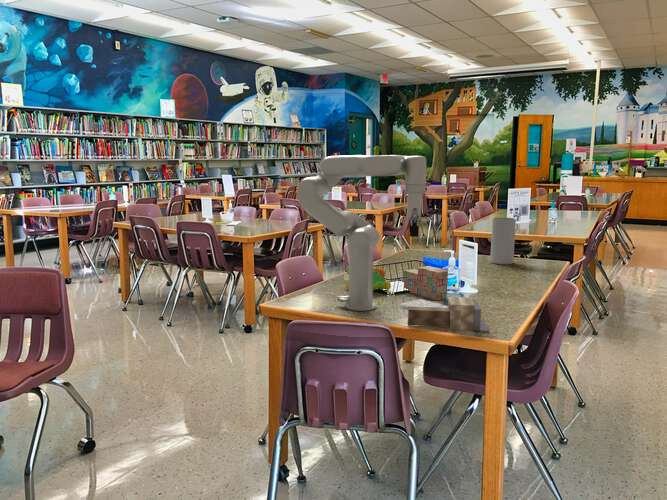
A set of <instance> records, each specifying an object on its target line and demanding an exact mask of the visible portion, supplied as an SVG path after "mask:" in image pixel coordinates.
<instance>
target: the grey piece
mask: <svg viewBox="0 0 667 500" xmlns="http://www.w3.org/2000/svg"><path fill="white" fill-rule="evenodd" d="M471 299H472V301H473V303H474V305H475V310H474V330H472V332H474V333H489V332H490V330H489V328H488V327H487V324H486V322H485V320H484V319H482V318H481V317H482V309H481V306H480V305H479V302H478V301H477V299H473V298H471Z"/></svg>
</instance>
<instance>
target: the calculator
mask: <svg viewBox="0 0 667 500" xmlns="http://www.w3.org/2000/svg"><path fill="white" fill-rule="evenodd" d="M408 306H411V307H438V308H448V305H445V304H443V303H438V302H435V301H434V302H433V301H429V300H426V299H423V298H422V299H421V298H419V299H416V300H415V299H414V300H411V301H407V302H402V303H400V304H399V307H400V308H402V309H406V310H408Z"/></svg>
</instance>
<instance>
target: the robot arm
mask: <svg viewBox="0 0 667 500" xmlns="http://www.w3.org/2000/svg"><path fill="white" fill-rule="evenodd" d="M400 175H404V176H405V179H404V183H405V184H404V193H405V194H407V197H406V198H407V199H406V200H407V201H406V220H407V221H409V224H408V225H409V226H408V227H409V230H408V231H409V237H413V238H418V237H420V235H419V234H420V233H419V232H420V231H419V230H420V228H419V227H420V226H419V221H420V220H421V215H422V213H421V212H422V199H423V194H426V183H427V182H426V180H427V179H426V178H427V158H426V156H423V155H400V154H389V155H388V154H386V155H364V154H353V155H330V156H326V157H324V158H323V159H322V160H321V163H320V171H319V173H318V174H317V175H315V176H309V177H308V176H307V177H305V178H303V179H302V180H301V181H299V183H298V184H297V188H296V191H297V192H296V197H297V201H298V203H299V205H300V206H301V208H302V209H303V210H304V212H306V213H307V214H309V215H310V216H311V217H312V218H314V219H315V220H317V222H318V223H320V224H321V225H322V226H323V227H325V228H326V229H327V230H328V231H330V232H332V233H333V234H334V235H335V236H340V237H341V236H342V237H343V236H345V235H347V237H348V239H347V250H348V266H349V275H348V281H349V290H348V295H345V296H342V295H341V296H340V295H337V301H338V302H340V303H344V308H346V309H348V310H349V311H356V312H366V311H367V312H368V311H372V310H375V309H376V308H377V304H376V303H375V302H373V299H374V298H373V297H374V295H373V294H374V293H373V292H374V290H373V265H374V256H373V249H374V248H375V247H377V245H378V244H379V243H380V238H381V237H380V233H379V231H378V229H377V228H376V227H375V226H373V225H372V224H370V222H368V221H367V220H365V219H364V218H363V217H361V216H360V215H358V214H357V213H355V212H354V211H351V210H348V209H347V210H340V209H338V208H337V207H335V206H334V205H333V204H332V203H330V201H329V202H328V201H327V200H325V199H324V198H322V197H325V196H326V195H327V194H328V193H329V192H331V190H332V189H333V188H334V187H336V185H337V184H338V183H339V182H340V181H341V180H342V179H343V178H349V179H350V178H366V177H392V176H400Z"/></svg>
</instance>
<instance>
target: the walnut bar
mask: <svg viewBox="0 0 667 500" xmlns="http://www.w3.org/2000/svg"><path fill="white" fill-rule="evenodd" d="M407 325H408V326H410V325H419V326H418V327H435V326H436V327H441V328H450V308H438V307H411V306H408V309H407Z"/></svg>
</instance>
